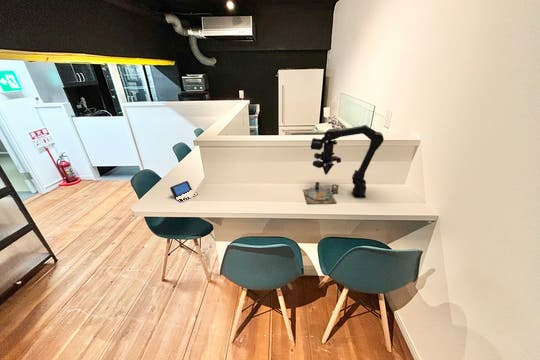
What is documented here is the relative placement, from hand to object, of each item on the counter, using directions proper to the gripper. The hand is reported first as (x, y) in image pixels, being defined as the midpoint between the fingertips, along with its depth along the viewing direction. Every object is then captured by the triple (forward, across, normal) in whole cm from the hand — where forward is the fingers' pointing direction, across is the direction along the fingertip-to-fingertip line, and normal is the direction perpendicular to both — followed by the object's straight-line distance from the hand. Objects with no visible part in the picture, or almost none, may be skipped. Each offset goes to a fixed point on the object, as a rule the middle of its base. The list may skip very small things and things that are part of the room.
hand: (325, 174), depth 135 cm
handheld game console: (+11, +80, -41) cm, 91 cm away
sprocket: (+10, +9, +5) cm, 15 cm away
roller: (+11, -2, +6) cm, 13 cm away
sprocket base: (+11, +10, +5) cm, 15 cm away
